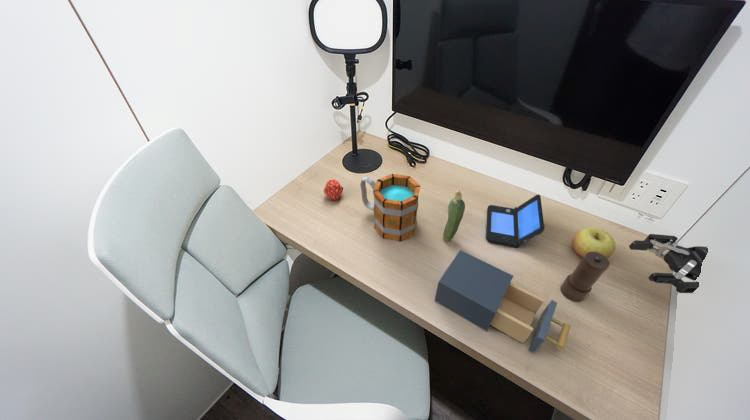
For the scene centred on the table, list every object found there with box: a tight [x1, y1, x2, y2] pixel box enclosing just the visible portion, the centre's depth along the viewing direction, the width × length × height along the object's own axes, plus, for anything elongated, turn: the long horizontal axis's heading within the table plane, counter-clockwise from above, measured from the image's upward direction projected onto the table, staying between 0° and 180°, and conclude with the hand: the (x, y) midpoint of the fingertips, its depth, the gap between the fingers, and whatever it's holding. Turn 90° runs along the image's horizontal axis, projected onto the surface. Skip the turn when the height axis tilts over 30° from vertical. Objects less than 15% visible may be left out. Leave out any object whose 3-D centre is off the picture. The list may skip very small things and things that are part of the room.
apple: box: [571, 226, 616, 260], centre depth 86 cm, size 10×10×8 cm
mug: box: [359, 173, 421, 242], centre depth 94 cm, size 20×14×15 cm
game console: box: [485, 194, 545, 249], centre depth 93 cm, size 16×13×9 cm
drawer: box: [489, 281, 571, 354], centre depth 71 cm, size 17×10×7 cm, turn 54°
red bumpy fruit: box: [323, 179, 344, 201], centre depth 106 cm, size 6×7×8 cm
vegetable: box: [442, 189, 466, 242], centre depth 86 cm, size 4×4×20 cm
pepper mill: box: [560, 252, 611, 303], centre depth 75 cm, size 6×6×14 cm
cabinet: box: [434, 249, 514, 332], centre depth 76 cm, size 14×12×9 cm
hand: (640, 260), depth 70 cm, fingers open, 8 cm apart
